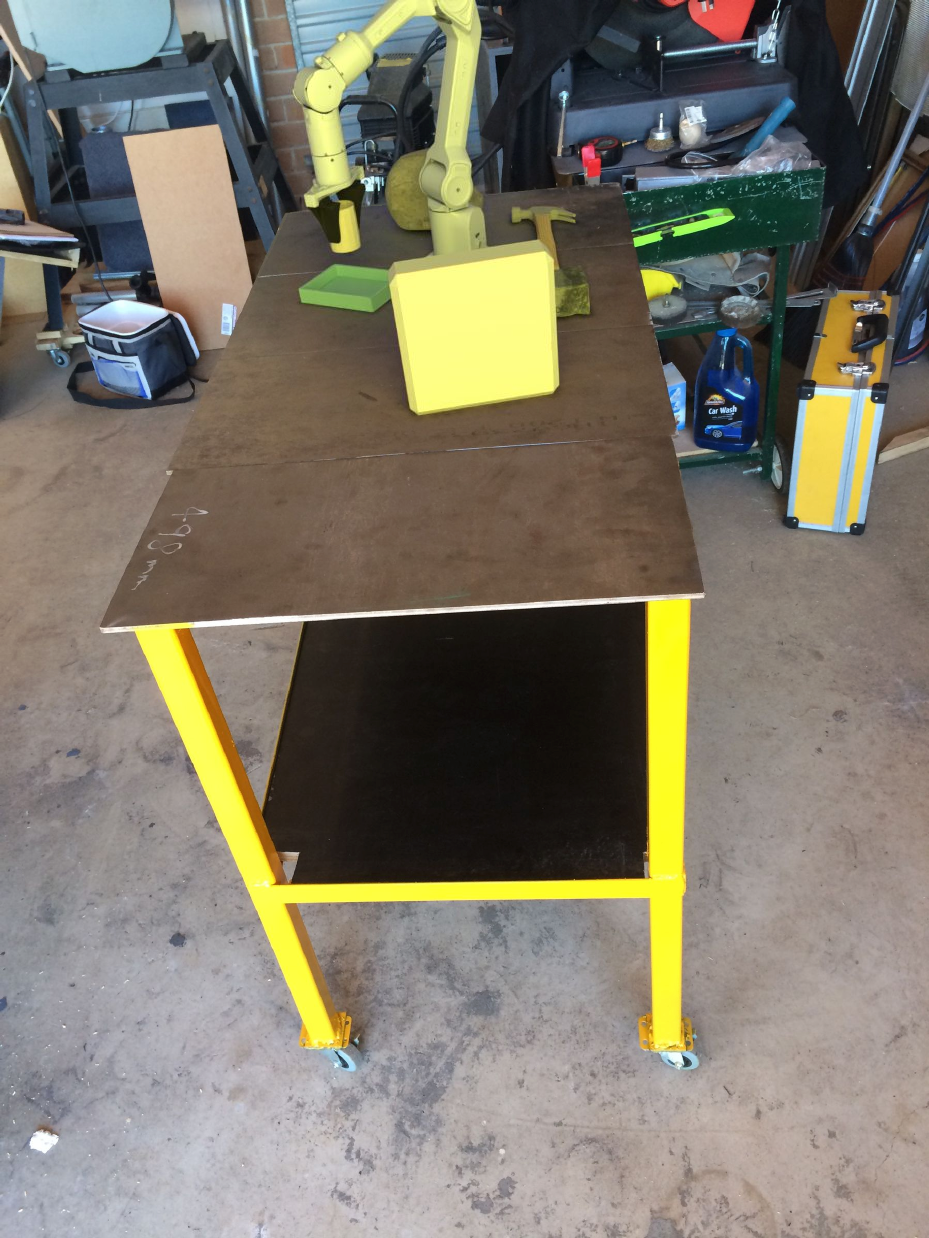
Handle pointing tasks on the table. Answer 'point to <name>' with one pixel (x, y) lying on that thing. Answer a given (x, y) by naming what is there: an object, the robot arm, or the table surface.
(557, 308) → the stone block
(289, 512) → the table surface
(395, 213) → the stone
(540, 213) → the hammer
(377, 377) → the table surface
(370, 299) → the tray
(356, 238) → the cup
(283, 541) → the table surface
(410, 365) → the yellow beveled square tile
